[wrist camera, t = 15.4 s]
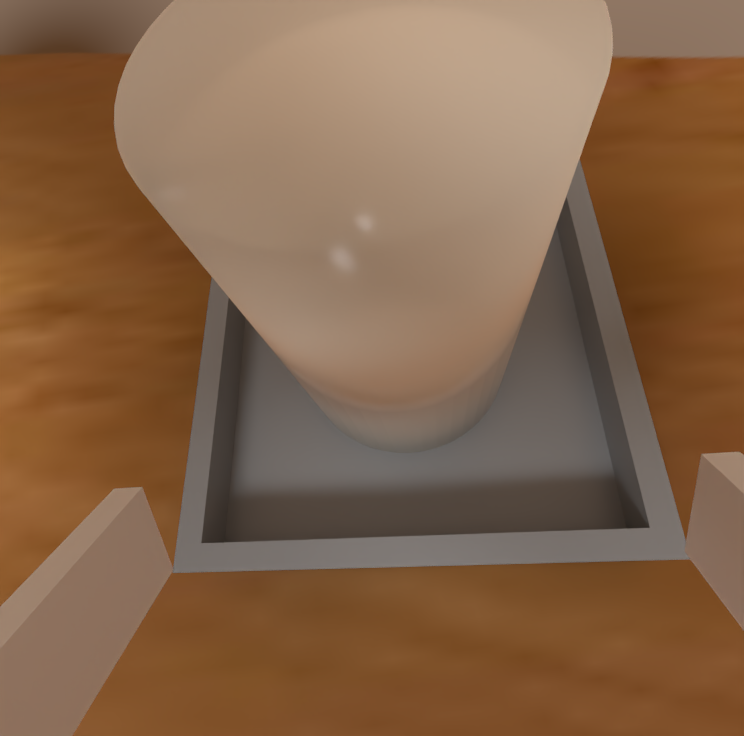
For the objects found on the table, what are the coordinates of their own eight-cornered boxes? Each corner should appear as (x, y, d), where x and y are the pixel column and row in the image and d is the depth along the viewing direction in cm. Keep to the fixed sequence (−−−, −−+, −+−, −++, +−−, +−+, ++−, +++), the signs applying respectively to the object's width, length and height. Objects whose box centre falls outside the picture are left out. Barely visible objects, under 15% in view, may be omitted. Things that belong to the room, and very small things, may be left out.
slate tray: (210, 570, 20) (172, 573, 17) (244, 235, 26) (222, 198, 24) (651, 558, 17) (690, 559, 15) (562, 197, 24) (577, 152, 22)
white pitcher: (307, 458, 20) (63, 281, 7) (313, 245, 24) (171, -101, 11) (517, 446, 19) (683, 212, 6) (484, 225, 23) (536, -181, 10)
